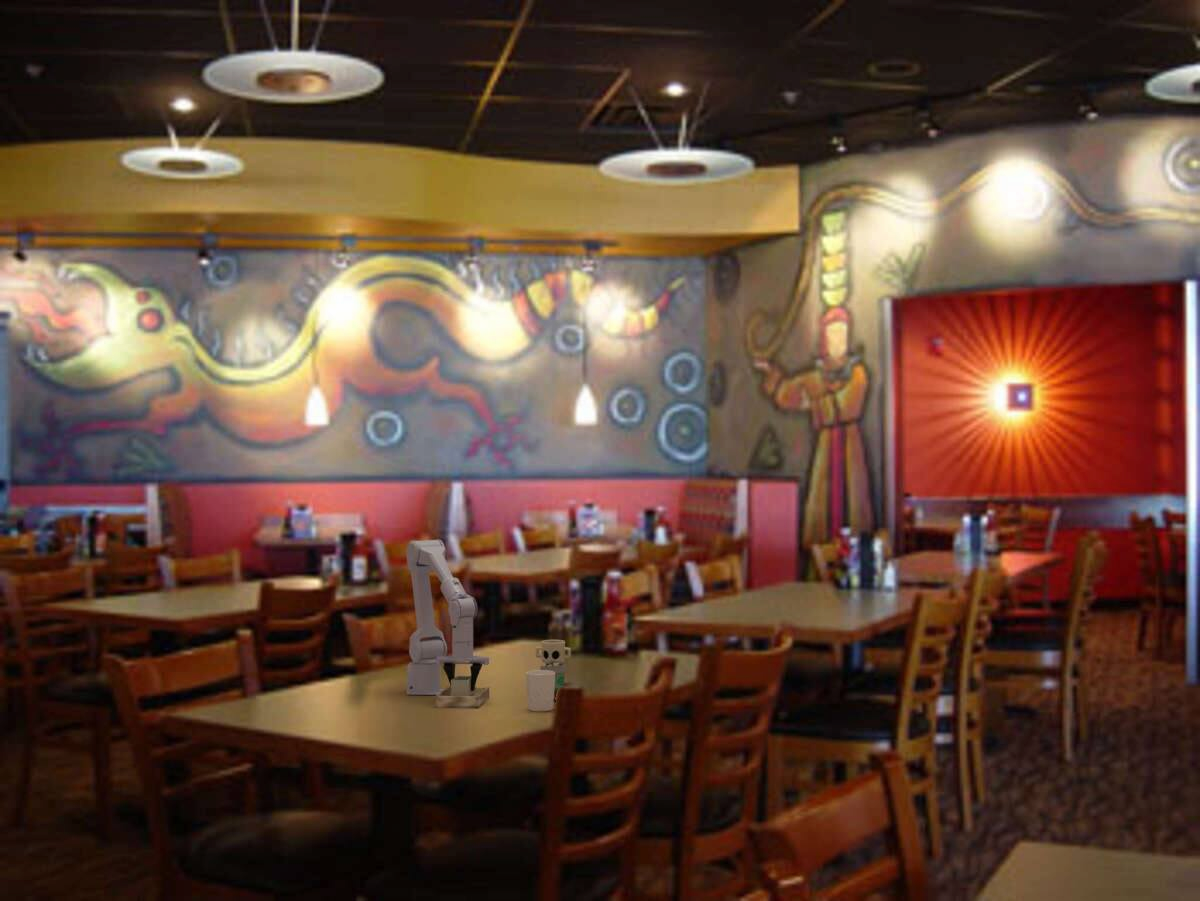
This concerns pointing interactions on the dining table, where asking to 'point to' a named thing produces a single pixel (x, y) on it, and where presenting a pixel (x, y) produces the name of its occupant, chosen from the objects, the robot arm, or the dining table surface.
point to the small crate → (461, 686)
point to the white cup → (540, 690)
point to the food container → (556, 673)
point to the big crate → (462, 699)
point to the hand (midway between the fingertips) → (462, 690)
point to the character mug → (553, 651)
